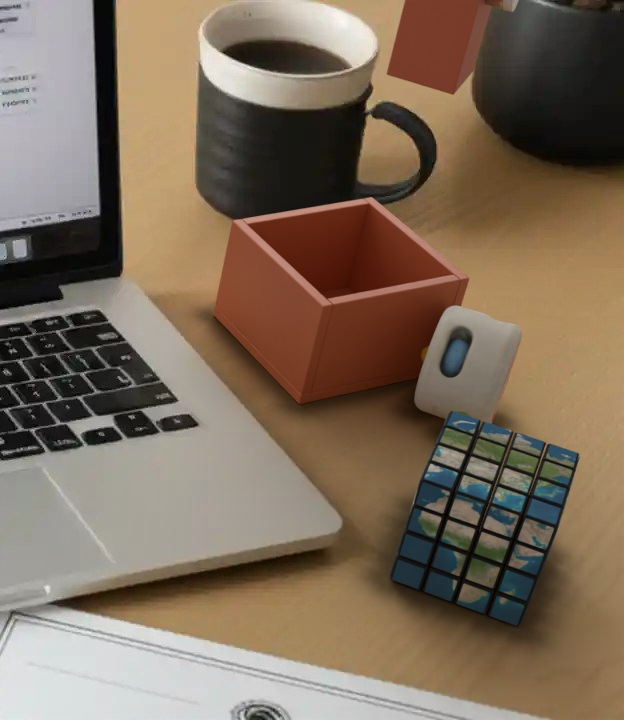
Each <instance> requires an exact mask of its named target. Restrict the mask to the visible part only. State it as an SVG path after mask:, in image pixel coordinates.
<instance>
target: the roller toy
mask: <svg viewBox="0 0 624 720" xmlns="http://www.w3.org/2000/svg"><path fill="white" fill-rule="evenodd" d="M522 337H523V332H522V329H521V328H520V326H518V325H517V324H516V323H513V322H505V321H502V320H498V319H496V318H493V317H491V316H489V315H488V314H486V313H485V312H481V311H477V310H474V309H471V308H468V307H463V306H462V305H461V306H451V307H449V308H447V309H446V310H445V311H444V313H443V315H442V316H441V319H440V321H439V323H438V325H437V328H436V330H435V333H434V335H433V338H432V340H431V343H430V346H427V347H426V348H424V349H423V350H422V353H421V359H422V361H423V366H422V369H421V372H420V375H419V378H417V379H418V380H417V383H416V386H415V391H414V399H413V401H414V404H415V406H416V407H417V408H418V410H420V411H422V412H424V413H427V414H429V415H432V416H436V417H438V418H441V419H444V420H446V418H447V416H448V413H449V414H450V412H451V411H455V412H457V413H460V414H463V415H466V416H469V417H472V418H475V419H478V420H480V421H481V423H480V426H479V429H478V431H479V430H480V427H481V425H482V422H487V423H490V424H493V422H494V419H495V417H496V414H497V411H498V409H499V406H500V404H501V401H502V398H503V396H504V393H505V390H506V387H507V385H508V381H509V378H510V375H511V372H512V370H513V367H514V364H515V361H516V358H517V354H518V351H519V348H520V346H521V345H520V344H521V342H522V341H521V340H522Z"/></svg>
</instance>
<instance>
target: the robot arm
mask: <svg viewBox="0 0 624 720" xmlns="http://www.w3.org/2000/svg"><path fill="white" fill-rule="evenodd" d="M519 1H520V0H485V4H486V5H490V6H492V8H497V9H499V10H503V11H506V12H510V13H514V11H515V10H516V8H517V6H518V3H519Z"/></svg>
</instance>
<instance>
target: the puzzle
mask: <svg viewBox="0 0 624 720" xmlns="http://www.w3.org/2000/svg"><path fill="white" fill-rule="evenodd" d="M480 423H481V421H480V420H478V419H475V418H472V417H469V416H466V415H463V414H460V413H457V412H455V411H451V412H450V414H449V413H448V416H447V418H446V419H444V423H443V426H442V428H441V430H440V433H439V434H438V436H437V439H436V441H435V444H434V447H433V449H432V451H431V453H430V456H429V458H428V460H427V463H426V465H425V467H424V469H423V472H422V474H421V476H420V479H419V482H418V485H417V488H416V490H415V493H414V496H413V497H414V498H413V502H412V504H411V507H410V510H409V512H408V513H409V514H408V517H407V519H406V523H405V527H404V529H403V532H402V535H401V538H400V541H399V544H398V548H397V553H396V555H395V557H394V561H393V564H392V566H391V570H390V574H389V579H390V580H391V581H393V582H397V583H400V584H402V585H405V586H408V587H411V588H413V589H416V590H422V591H423V592H425V593H426V594H427V593H428V594H430V595H432V596H434V597H438V598H440V599H443V600H446V601H448V602H454V603H455V604H457V605H459V606H462V607H464V608H467V609H470V610H473V611H475V612H478V613H481V614H484V615H486V614H487V615H488V616H490V617H491V618H495V619H497V620H500V621H502V622H505V623H508V624H511V625H514V626H516V627H520V626H521V625H522V624H523V622H524V619H525V616H526V613H527V611H528V609H529V605H530V603H531V600H532V598H533V595H534V592H535V590H536V588H537V585H538V582H539V579H540V576H541V574H542V572H543V569H544V567H545V564H546V561H547V559H548V557H549V553H550V550H551V549H552V546H553V543H554V540H555V538H556V535H557V532H558V530H559V527H560V524H561V522H562V517H563V514H564V510H565V508H566V504H567V502H568V498H569V494H570V491H571V488H572V484H573V481H574V478H575V474H576V471H577V467H578V464H579V461H580V458H581V456H580V453H579V452H577V451H574V450H571V449H568V448H565V447H562V446H558V445H557V444H554V443H547V442H546V441H544V440H541V439H538V438H535V437H532V436H529V435H526V434H523V433H520V432H515V433H514V431H513V430H511V429H508V428H505V427H502V426H499V425H496V424H493V423H491V424H490V423H487V422H482V425H481V427H480V430H478V429H479V426H480Z"/></svg>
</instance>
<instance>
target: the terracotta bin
mask: <svg viewBox="0 0 624 720" xmlns="http://www.w3.org/2000/svg"><path fill="white" fill-rule="evenodd" d="M469 282H470V277H469V276H468V275H467V274H466V273H464V272H463V271H461V270H460V268H458V267H457V266H455V264H454V263H452V262H451V261H450V260H449V259H447V258H446V257H445V256H443V254H441V253H440V252H439V251H438V250H436V249H435V248H434V247H433V246H431V244H429V243H428V242H426V240H424V239H423V238H422V237H421V236H420V235H418V234H417V233H416V232H414V230H412V229H411V228H410V227H409V226H408V225H406V224H405V223H404V222H403V221H402V220H400V219H399V218H398V217H396V216H395V215H394V214H393V213H392V212H391V211H389V209H387V208H386V207H384V206H383V205H382V203H380V202H379V201H377V200H376V199H375V198H373V197H371V196H370V197H365V198H359V199H358V198H357V199H352V200H347V201H341V202H334V203H329V204H328V203H327V204H323V205H316V206H311V207H305V208H298V209H293V210H287V211H281V212H276V213H269V214H263V215H257V216H252V217H251V216H250V217H244V218H240V219H233V220H232V221H231V225H230V230H229V235H228V239H227V245H226V250H225V255H224V259H223V265H222V269H221V275H220V280H219V283H218V289H217V294H216V299H215V303H214V308H213V311H212V315H213V316H214V317H215V318H216V319H217V321H219V323H220V324H221V325H222V326H223V327H224V328H225V329H226V330H227V331H228V332H229V333H230V334H231V335H232V336H233V337H234V338H235V339H236V340H237V342H239V343H240V344H241V345H242V346H243V348H245V350H246V351H247V352H248V353H249V354H250V355H251V356H252V357H253V358H254V359H255V360H256V361H257V362H258V363H259V364H260V365H261V366H262V367H263V368H264V370H266V372H268V373H269V374H270V376H272V377H273V379H274V380H275V381H276V382H277V383H278V384H279V385H280V386H281V387H282V388H283V390H285V391H286V392H287V393H288V394H289V395H290V397H292V399H294V400H295V402H296V403H298V405H303V404H306V403H311V402H316V401H320V400H324V399H329V398H333V397H338V396H343V395H347V394H352V393H357V392H361V391H365V390H370V389H374V388H379V387H384V386H388V385H392V384H397V383H401V382H405V381H411V380H414V379H419V375H420V372H421V369H422V366H423V361H422V359H421V353H422V350H423V349H424V348H426V347H427V346H430V343H431V340H432V338H433V335H434V333H435V330H436V328H437V325H438V323H439V321H440V319H441V316H442V315H443V313H444V311H445V310H446V309H447V308H449V307H451V306H461V307H462V304H463V301H464V297H465V294H466V291H467V288H468V285H469Z"/></svg>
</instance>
